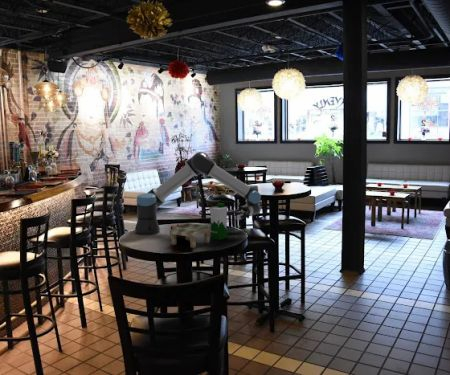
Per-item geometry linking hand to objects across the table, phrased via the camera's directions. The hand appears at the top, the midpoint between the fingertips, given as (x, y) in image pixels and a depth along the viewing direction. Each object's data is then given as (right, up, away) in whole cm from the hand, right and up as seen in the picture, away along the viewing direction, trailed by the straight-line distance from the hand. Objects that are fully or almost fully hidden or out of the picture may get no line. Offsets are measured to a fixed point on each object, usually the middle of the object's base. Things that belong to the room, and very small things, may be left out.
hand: (227, 216), depth 272 cm
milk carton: (-5, -12, -7) cm, 15 cm away
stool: (-20, -13, -18) cm, 31 cm away
